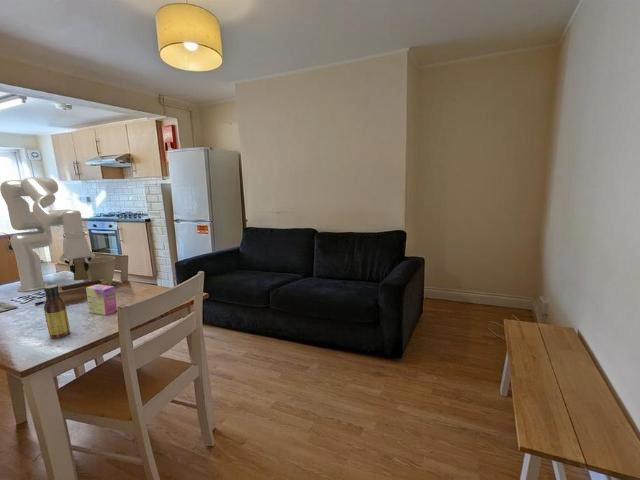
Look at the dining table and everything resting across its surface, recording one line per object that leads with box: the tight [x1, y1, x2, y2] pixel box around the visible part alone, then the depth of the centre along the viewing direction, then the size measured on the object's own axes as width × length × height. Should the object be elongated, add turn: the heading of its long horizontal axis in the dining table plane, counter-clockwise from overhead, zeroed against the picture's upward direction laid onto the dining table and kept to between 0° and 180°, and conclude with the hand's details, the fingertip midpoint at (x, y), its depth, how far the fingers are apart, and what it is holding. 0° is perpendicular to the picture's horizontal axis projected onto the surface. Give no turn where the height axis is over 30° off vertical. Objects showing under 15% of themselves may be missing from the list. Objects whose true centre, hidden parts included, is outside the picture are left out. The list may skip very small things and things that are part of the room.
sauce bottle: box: [43, 284, 71, 339], centre depth 119 cm, size 7×6×20 cm
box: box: [86, 284, 118, 316], centre depth 142 cm, size 10×6×12 cm, turn 71°
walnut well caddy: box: [58, 279, 108, 307], centre depth 160 cm, size 12×20×7 cm, turn 135°
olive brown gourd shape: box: [73, 258, 90, 282], centre depth 158 cm, size 6×6×11 cm
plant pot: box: [84, 255, 116, 286], centre depth 178 cm, size 15×15×16 cm
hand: (80, 271), depth 158 cm, fingers closed on olive brown gourd shape, 4 cm apart
